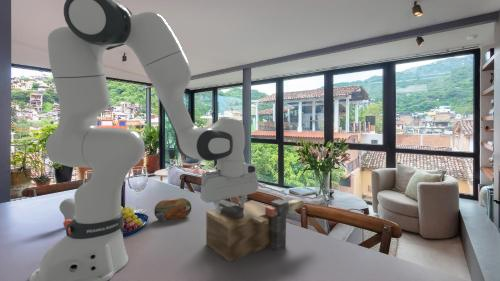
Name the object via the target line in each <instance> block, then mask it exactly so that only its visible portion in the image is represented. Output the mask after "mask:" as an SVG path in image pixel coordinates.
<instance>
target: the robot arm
mask: <svg viewBox="0 0 500 281" xmlns="http://www.w3.org/2000/svg"><path fill="white" fill-rule="evenodd" d="M63 18H64V20H65V23H66V25H67V26H61V27H58V28H55V29H54V30H52V31H50V33H49V34H48V36H47V50H48V52H47V53H48V60H49V65H50V70H51V74H52V78H53V82H54V86H55V92H56V96H57V100H58V104H59V119H58V123H57V126H56V128H55V129H54V131H53V132H51V134H50V135H49V136H48V137H47V139H46V143H45V146H44V148H45V153H46V156H47V158H48V159H49V160H50V161H51V162H53V163H55V164H58V165H62V166H66V167H69V168H91V169H92V170H91V177H90V179H89V180H88V181H86V182H84V183H82V184H81V185H80V186H78V188H77V189H76V190H75V192H74V196H73V199H74V201H75V219H74V220H71V219H66V220H65V219H64V221H63V223H62V224H63V227H64V228H65V233H66V234H65V235H64V236H63V237H62V238H61V239H60V240H58V241H57V242H56V243H54V244H53V245H52V246H51V247H50V248H48V249H47V250H46V251H45V253H44V255H43V256H42V259H41V262H40V265H39V268H37V269H36V270H34V271H33V273H32V274H31V275H30V277H29V279H28V281H109V280H111V279H112V278H113V276H114V275H115V274H116V273H117V272H118V271H120V270H121V269H122V268H123V267H125V266H126V265H127V263H128V262H129V255H128V253H127V251H126V247H125V243H124V242H125V241H124V236H123V232H124V225H125V224H124V214H123V212H122V189H123V188H122V187H123V185H124V181H125V180H126V177H127V175H128V174H129V172H130V171H131V170H132V169H133V168H134V167H136V166H137V165H138V164H139V163H140V162H141V161H142V159H143V157H144V155H145V151H146V150H145V149H146V148H145V146H146V145H145V141H144V139H143V137H142V136H141V135H140V133H139V132H137V131H134V130H130V129H126V128H121V127H98V116H99V115H101V114H102V113H104V112H106V110H108V108H109V106H110V104H111V97H110V91H109V86H108V82H107V76H106V70H105V69H104V68H105V67H104V63H103V55H104V52H105V50H106V51H109V50H112V49H115V48H118V47H121V46H125V45H126V46H127V47H129V48H130V49H131V50H132V51H133V53H134V54H135V55H136V57H137V59H138V61H139V63H140V64H141V66H142V68H143V71H144V72H145V74H146V75H147V77H148V80H149V82H150V83H151V85H152V87H153V88H154V90H155V92H156V95H157V97H158V98H159V101H160V103H161V106H162V108H163V110H164V112H165V114H166V116H167V119H168V121H169V123H170V125H171V127H172V130H173V132H174V138H175V145H176V149H177V152H178V153H179V154H180V155H181V156H182V157H184V158H187V159H194V160H199V161H205V162H213V161H214V162H215V161H216V169H214V170H207V171H205V172H204V173H203V174H202V175H201V177H200V178H201V188H200V199H201V201H203V202H205V203H208V204H209V203H212V204H213V205H214V206H215V209H216V213H217V214H221V213H223V208H222V207H220V206H219V204H220V202H221V201H225V200H228V199H232V198H237V197H240V200H239V202H237V204H238V206H240V207H242V208H244V203H245V202H247V199H248V195H251V194H255V193H257V192H258V189H259V178H258V177H259V176H258V174H257V172H258V167H257V166H256V165H254V164H252V163H251V164H250V163H247V162H246V160H245V155H244V151H245V147H246V137H245V136H246V135H245V127H244V124H243V121H241V120H240V119H238V118H236V117H230V116H229V117H228V116H226V117H225V116H224V117H223V116H222V117H220V118H219V119H218V120H216V122H214V123H212V124H210V125H208V126H206V127H202V128H201V127H198V126H196V125H195V123H194V122H193V120H192V117H191V115H190V113H189V111H188V108H187V105H186V104H185V100H184V94H185V92H186V88H187V87H188V85H189V83H190V81H191V78H192V72H191V68H190V64H189V60H188V59H187V56H186V54H185V52H184V50H183V48H182V46H181V44H180V42H179V40H178V38H177V37H176V35H175V33H174V31H173V30H172V28H171V27H170V26H169V24H168V23H167V21H166V20H165V18H164V17H163V16H162V15H160V14H159V13H157V12H153V11H145V12H141V13H140V12H139V13H138V14H133V12H132V11H131V10H130V9H129V8H128V7H127V6H125V5H124V4H122V2H120V1H118V0H65V3H64V6H63Z"/></svg>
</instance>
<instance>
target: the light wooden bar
mask: <svg viewBox="0 0 500 281" xmlns="http://www.w3.org/2000/svg"><path fill="white" fill-rule="evenodd" d="M287 202H289V212H291V211H293V210H297V209H301V208H303V207H304V200H303V199H300V198H295V199H291V200H288V201H287ZM266 206H267V207H265V214H266V215H268V216H271V217H273V216H275V215H278V207H277V206H274V205H266Z"/></svg>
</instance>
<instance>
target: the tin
mask: <svg viewBox="0 0 500 281" xmlns="http://www.w3.org/2000/svg"><path fill="white" fill-rule="evenodd" d="M191 212H192V204H191V202H190V201H189V200H188V199H187V198H184V197H180V198H179V197H178V198H172V199H163V200H160V201H159V202H157V203H156V205H155V207H154V212H153V214H154V216H155V218H156V219H157V220H159V221H161V222H167V221H174V220H181V219H185V218H187V217H188V216H189V215H190V214H191Z"/></svg>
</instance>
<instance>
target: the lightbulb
mask: <svg viewBox="0 0 500 281" xmlns="http://www.w3.org/2000/svg"><path fill="white" fill-rule="evenodd" d="M58 208H59V211H60V212H61V214H62V215H63V217H64V221H65V220H66V219H71V220H74V219H75V201H74V198H72V197H71V198H65V199H64V200H62V201H61V203H60V205H59V207H58Z"/></svg>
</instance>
